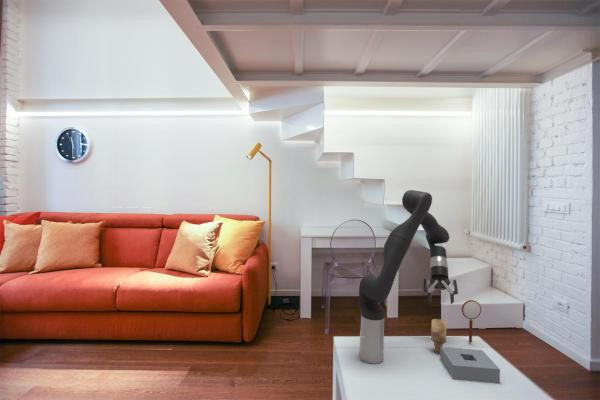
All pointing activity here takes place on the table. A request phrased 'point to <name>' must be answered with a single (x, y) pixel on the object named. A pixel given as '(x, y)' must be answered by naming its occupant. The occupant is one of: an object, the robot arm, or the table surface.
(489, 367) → the board
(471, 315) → the magnifying glass
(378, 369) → the table surface
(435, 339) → the peg
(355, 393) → the table surface
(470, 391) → the table surface
